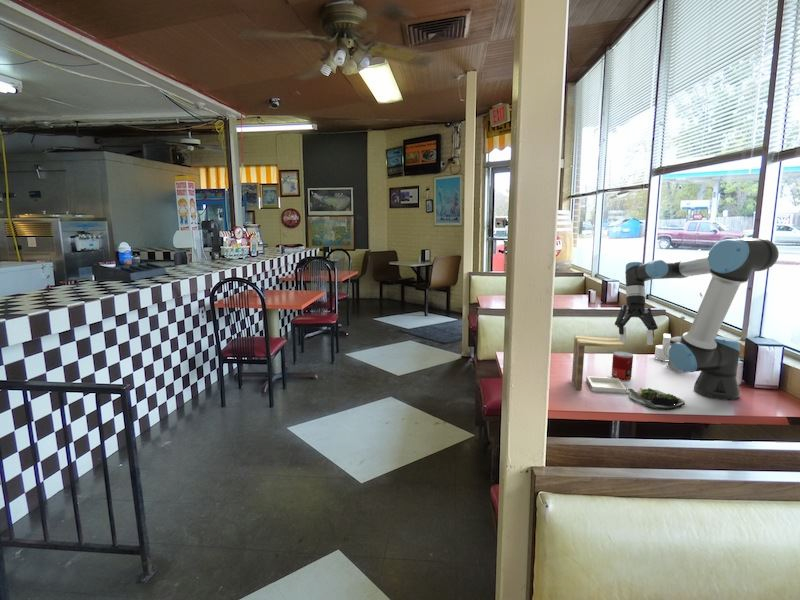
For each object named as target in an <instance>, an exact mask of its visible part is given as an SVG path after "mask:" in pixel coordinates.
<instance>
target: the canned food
mask: <svg viewBox="0 0 800 600" xmlns="http://www.w3.org/2000/svg"><path fill="white" fill-rule="evenodd" d="M633 362H634V354H633V353H631V352H627V351H621V350H620V351H613V354H612V363H611V364H612V365H611V378H619V379H620V381H630V380H631V379H632V373H633Z"/></svg>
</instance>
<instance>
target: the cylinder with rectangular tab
mask: <svg viewBox="0 0 800 600" xmlns="http://www.w3.org/2000/svg"><path fill="white" fill-rule="evenodd" d="M671 338H672V336H671V333H663V337H662V344H658V345H655V349H654V350H655V352H654V359H656V358H657V359H656V360H658V359H661V360H669V358H668V357H669V349H670V347H671V345H669V344H670V343H671V340H670V339H671ZM667 343H668V344H667ZM666 344H667V345H666ZM665 345H666V347H665ZM668 345H669V346H668ZM667 346H668V347H667ZM664 347H665V349H664ZM666 348H667V350H666ZM664 352H665V354H664ZM666 354H667V356H668V357H666V356H665V355H666ZM661 360H660V361H661ZM670 361H671V360H670Z"/></svg>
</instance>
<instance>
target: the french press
mask: <svg viewBox="0 0 800 600" xmlns="http://www.w3.org/2000/svg"><path fill="white" fill-rule="evenodd" d="M679 319H680V320H681V322H683V321H684V320H685V319H686V317H685V316H680V317H679ZM680 326H681V327H680V328H681V329H680V332H682V329H683V325H680ZM681 338H682V334H680V336H674V337H671V339H670V344H669V345H670V346H671V345H672V344H674V343H676V342H680V340H681ZM671 342H674V343H671ZM667 344H668V343H667ZM667 344H666V345H667ZM666 345H665V347H666ZM669 345H668V346H669ZM668 346H667V347H668ZM665 347H664V349H665ZM666 350H667V348H666ZM664 354H665V352H664ZM665 356H666V357H668V356H667V354H666V355H665ZM668 358H669V361H667V363H668V364H666V365H665V368H666V367H667V368H666V369H668V368H669V370H670V369H672V370H671V371H674V370H676V372H681V371H680V370H678V369H676V368H675V367H674V365H673V364H672V362H671V361H670V357H668Z"/></svg>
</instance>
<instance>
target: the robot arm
mask: <svg viewBox="0 0 800 600" xmlns="http://www.w3.org/2000/svg"><path fill="white" fill-rule="evenodd" d="M779 253H780V252H779V249H778V247H777V245H776V244H775V243H774V242H772V241H771V240H769V239H766V238H761V237H759V238H758V237H755V238H751V237H750V238H738V237H734V238H733V237H732V238H729V239H727V238H726V239H723V240H720V241H717V242H716V243H715V244H714V245H712V247H711V248H710V250H709V252H708V254H705V255H700V256H696V257H695V256H694V257H690V258H685V259H679V260H678V259H677V260H673V261H671V260H669V261H667V260H666V261H665V260H662V259H655V260H651V261H649V262H646V263H644V262H642V261H629V262H628V263H627V264H625V273H624V274H625V295H626V299H625V301H626V302H625V303H626V304H625V305H624V304H623V305H621V306H620V311H619V312H618V315H617V318H616V320H615V322H614V326H616V328H618V334H619V336H620V339H619V340H620V341H621V342H622V343H626V342H627V327H625V325H627V323H628V322H629V320H630V319H631V318H634V317H635V318H639V319H640V320H641V321H642V323H643V325H644V326H645V327H646V329H647V330H646V346H653V345H654V336H655V335H654V333H655V331H656V330H658V327H659V326H658V324H657V323H656V320H655V318H654V316H653V313H652V308H650V307H647V308H645V305H646V297H645V296H646V287H645V282H647V281H651V280H662V279H663V280H664V279H666V280H667V279H685V278H688V277H693V276H699V275H707V274H708V275H709V274H710V275H711V280H710V281H709V285H708V286H707V289H706V291H705V293H704V296H703V298H702V300H701V303H700V305H699V307H698V309H697V312H696V315H695V316H694V319H693V321H692V324H691V326H690V328H689V330H688V331H686V332H684V333H683V334H681V337H682V338H681V340H680V342H674V343H673V344H671V345H670V346H671V347H670V349H669V357H670V360H671V362H672V364H673V365H674V367H675V368H676V369H678V370H680V371H679V372H682V373H695V372H700V373H699V375H698V377H697V378H696V381H695V382H694V385H693V390H694V391H695V392H696V393H698V394H699V395H702V396H704V397H708V398H711V397H712V398H713V399H716V398H718V399H717V400H723V399H734V400H737V399H736V398H738V397H739V398H740V393H741V390H740V386H739V383H738V380H737V373H738V365H739V359H740V354H741V343H740V341H738V340H736V339H733V338H730V337H725V336H719V335H718V333H719V331H720V329H721V326H722V325H723V322H724V320H725V318H726V316H727V314H728V311H729V310H730V307H731V305H732V303H733V300H734V298H735V296H736V294H737V292H738V290H739V288H740V286H741V284H743V283H744V284H745V283H747V282H748V281H749V278H750V276H751V274H752V272H761V271H766V270H767V269H770V268H771V267H773V266H774V265H775V264H776V263H777V261H778V259H779ZM712 398H711V399H712ZM739 398H738V399H739Z"/></svg>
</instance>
